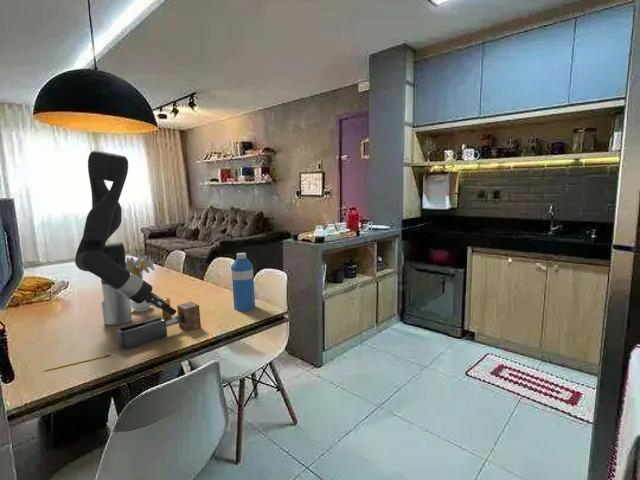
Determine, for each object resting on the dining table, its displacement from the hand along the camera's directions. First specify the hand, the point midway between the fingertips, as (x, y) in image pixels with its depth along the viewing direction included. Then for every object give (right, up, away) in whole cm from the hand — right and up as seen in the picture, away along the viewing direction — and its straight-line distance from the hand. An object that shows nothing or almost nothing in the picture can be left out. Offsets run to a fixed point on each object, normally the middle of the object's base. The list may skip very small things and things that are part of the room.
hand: (172, 312), depth 130 cm
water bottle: (+22, -4, +26) cm, 34 cm away
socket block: (+5, -7, +5) cm, 10 cm away
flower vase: (-25, -5, +28) cm, 38 cm away
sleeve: (-7, -9, -7) cm, 14 cm away
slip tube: (-1, -5, 0) cm, 5 cm away
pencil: (-21, -12, -21) cm, 32 cm away
